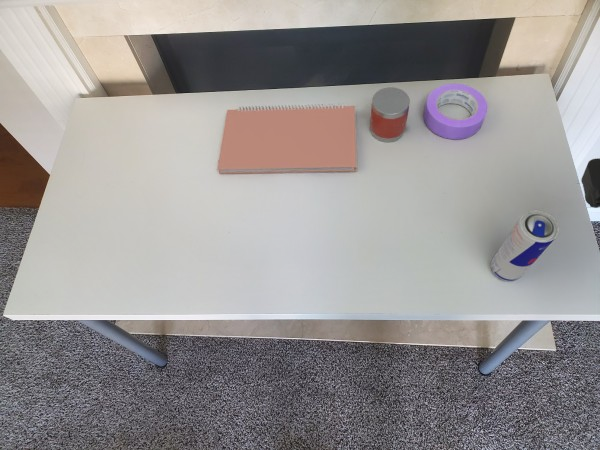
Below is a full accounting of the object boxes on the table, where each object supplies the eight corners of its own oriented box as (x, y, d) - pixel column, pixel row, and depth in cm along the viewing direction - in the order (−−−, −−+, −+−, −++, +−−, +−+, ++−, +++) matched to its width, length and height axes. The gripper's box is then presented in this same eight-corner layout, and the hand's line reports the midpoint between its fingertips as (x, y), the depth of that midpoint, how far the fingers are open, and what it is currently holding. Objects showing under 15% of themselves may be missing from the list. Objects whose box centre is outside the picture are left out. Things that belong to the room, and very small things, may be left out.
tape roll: (478, 96, 93) (483, 82, 90) (486, 139, 87) (492, 126, 84) (421, 97, 94) (424, 83, 91) (425, 140, 89) (428, 127, 85)
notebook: (354, 108, 94) (355, 101, 93) (356, 172, 86) (356, 165, 84) (229, 111, 97) (227, 105, 95) (219, 174, 89) (217, 168, 87)
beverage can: (519, 287, 72) (557, 246, 59) (486, 277, 73) (517, 234, 60) (523, 260, 74) (562, 214, 61) (492, 251, 76) (523, 204, 63)
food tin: (405, 117, 92) (410, 87, 85) (404, 143, 89) (409, 115, 82) (371, 115, 93) (373, 86, 86) (368, 141, 90) (370, 113, 83)
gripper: (604, 91, 53) (533, 170, 66) (641, 223, 43) (550, 285, 57) (697, 107, 53) (607, 183, 66) (754, 243, 43) (636, 300, 57)
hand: (598, 233), depth 61 cm, fingers open, 9 cm apart
